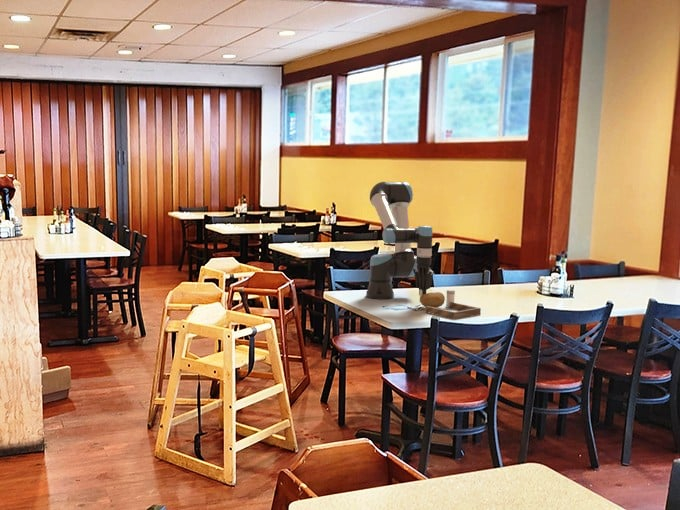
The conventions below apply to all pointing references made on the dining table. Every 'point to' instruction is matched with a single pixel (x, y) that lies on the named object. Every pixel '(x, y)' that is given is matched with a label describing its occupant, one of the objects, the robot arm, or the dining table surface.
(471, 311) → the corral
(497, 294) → the dining table surface
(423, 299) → the potato
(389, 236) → the robot arm
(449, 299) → the pepper shaker
